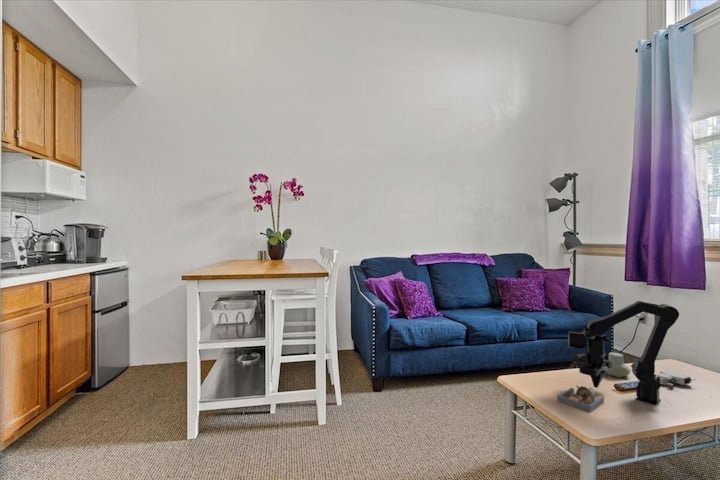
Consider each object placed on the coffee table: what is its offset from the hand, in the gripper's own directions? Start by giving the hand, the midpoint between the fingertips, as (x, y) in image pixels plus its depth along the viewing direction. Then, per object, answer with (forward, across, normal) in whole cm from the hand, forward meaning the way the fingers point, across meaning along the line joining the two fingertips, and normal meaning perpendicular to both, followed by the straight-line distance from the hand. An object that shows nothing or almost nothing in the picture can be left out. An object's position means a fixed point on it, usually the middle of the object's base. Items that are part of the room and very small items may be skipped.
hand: (595, 387), depth 154 cm
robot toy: (+2, -38, +17) cm, 41 cm away
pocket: (+2, +15, 0) cm, 15 cm away
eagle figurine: (+2, +14, +1) cm, 15 cm away
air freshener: (+2, -30, -2) cm, 30 cm away
